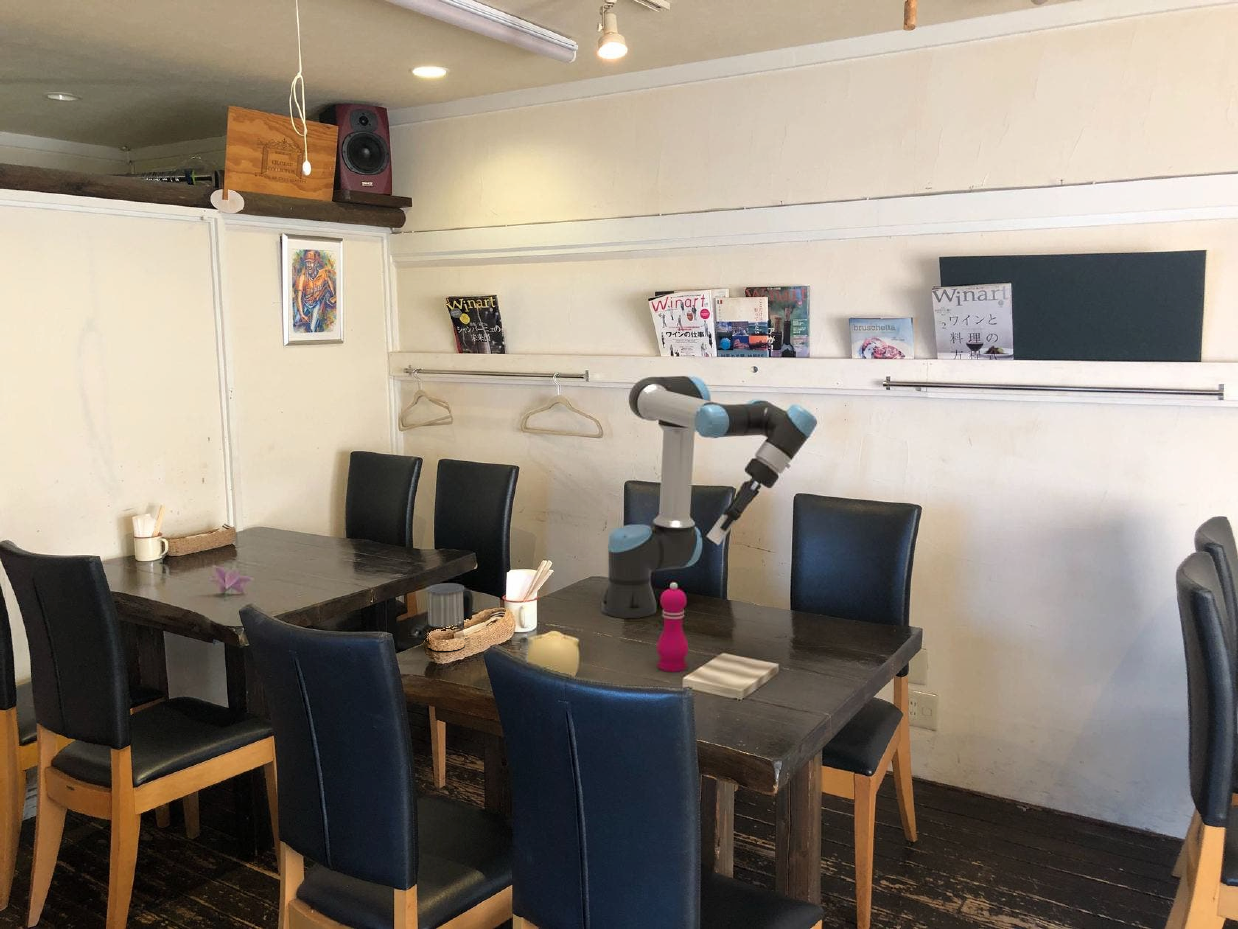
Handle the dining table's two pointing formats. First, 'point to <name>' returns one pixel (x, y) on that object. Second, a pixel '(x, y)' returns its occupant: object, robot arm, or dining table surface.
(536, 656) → the sculpture
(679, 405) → the robot arm
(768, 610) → the dining table surface
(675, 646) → the pepper mill
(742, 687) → the serving board
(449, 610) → the milk frother
